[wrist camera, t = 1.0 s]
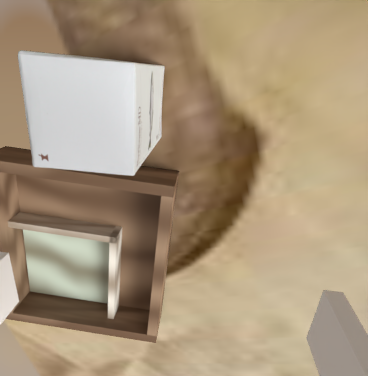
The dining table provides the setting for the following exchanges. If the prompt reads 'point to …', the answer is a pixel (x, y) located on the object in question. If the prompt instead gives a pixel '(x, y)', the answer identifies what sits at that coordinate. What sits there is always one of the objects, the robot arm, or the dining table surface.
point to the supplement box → (91, 111)
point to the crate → (87, 245)
